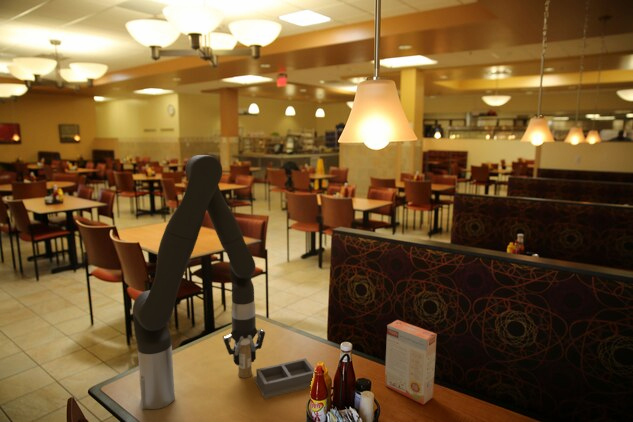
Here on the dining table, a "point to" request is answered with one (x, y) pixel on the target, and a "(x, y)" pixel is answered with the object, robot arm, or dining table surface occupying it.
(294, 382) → the caddy
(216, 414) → the dining table surface
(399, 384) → the cracker box
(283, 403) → the dining table surface
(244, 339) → the sprinkles bottle
